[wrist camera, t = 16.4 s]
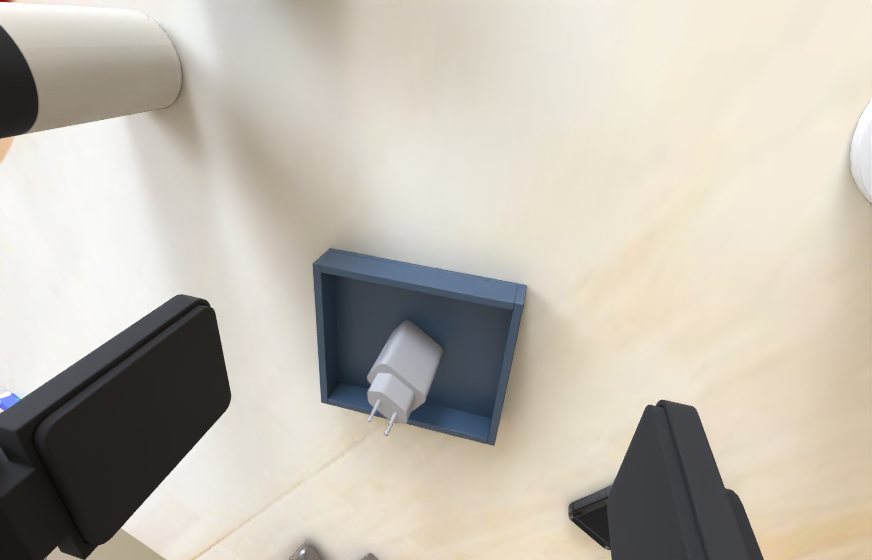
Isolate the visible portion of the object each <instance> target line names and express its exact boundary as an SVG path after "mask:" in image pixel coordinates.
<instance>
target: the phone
mask: <svg viewBox="0 0 872 560" xmlns="http://www.w3.org/2000/svg"><path fill="white" fill-rule="evenodd" d="M611 488H612V486H610V487H608V488H606V489H603V490H601V491H599V492H596V493H594V494H592V495H589V496H587V497H585V498H582V499H580V500H578V501H575V502H573V503H571V504H570V505H569V518H570V520H571V521H573V522H574V523H575V524H576V525H577V526H578V527H580V528H581V529H582V530H583V531H584V532H585V533H587V534H588V535H589V536H590V537H591V538H593V539H594V540H595V541H596V542H597V543H598V544H600V545H601V546H602V547H603V548H605V549H607V550H611V546H610V535H609V524H608V514H607V504H608V497H609V493H610V490H611Z"/></svg>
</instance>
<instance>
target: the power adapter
mask: <svg viewBox="0 0 872 560" xmlns="http://www.w3.org/2000/svg"><path fill="white" fill-rule="evenodd" d="M442 355H443V348H442V347H441V346H440V345H439V344H437V343H436V342H435V341H434V340H433V339H432V338H430V337H429V336H428V335H427V334H426V333H425V332H423V331H422V330H421V329H420V328H419V327H418V326H416V325H415V324H414V323H413V322H411V321H408V320H406V321H403V322H402V323H401V324H400V325H399V326H398V327H397V328H396V329H395V330H394V331H393V332H392V334H391V336H390V337H389V339H388V341H387V343H386V344H385V346H384V348H383V350H382V351H381V353H380V355H379V357H378V358H377V360H376V362H375V363H374V365H373V367H372V369H371V370H370V372H369V374H368V376H367V379H368V381H369V383H370V384H372V385H371V387H370V388H369V390H368V392H367V396H368V402H369V403H370V405H371V406H373V407H374V408H373V410H372V412H371V414H370V416H369V418H368V422H371V420H372V418H373V416H374V414H375V412H376V410H378V411H379V412H380V413H381V414H383V415H384V416H385V417H386V418H388V419H389V420H390V422H389V425H388V428H387V430H386V432H385V435H386V436H387V435H388V433H389V431H390V429H391V427H392V425H393V423H407V421H408V418H409V416H410V413H411V411H414V410H415V409H416V408H418V407H419V406H420V405H422V404H423V403H424V402H425V400H426V397H427V395H428V392H429V389H430V387H431V384H432V381H433V379H434V376H435V374H436V371H437V368H438V366H439V363H440V360H441V358H442Z"/></svg>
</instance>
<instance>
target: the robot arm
mask: <svg viewBox="0 0 872 560" xmlns="http://www.w3.org/2000/svg"><path fill="white" fill-rule="evenodd" d="M850 161H851V171H852V175H853V177H854V180H855V182H856V185H857V187H858V189H859V190H860V191H861V193H862V194H863V195H864V196H865V198H866V199H867V200H868V201H870V202H871V203H872V99H871V101H870V102H869V104H868V106H867V107H866V109H865V111H864V113H863V114H862V116H861V118H860V120H859V122H858V125H857V128H856V130H855V133H854V136H853V139H852V146H851V153H850ZM230 401H231V391H230V386H229V381H228V376H227V371H226V366H225V361H224V356H223V350H222V345H221V340H220V335H219V330H218V325H217V320H216V314H215V311H214V309H213V308H211V307H210V304H209V303H208V301H207V300H204V299H201V298H196V297H192V296H187V295H177V296H175V297H173V298H172V299H170V300H169V301H167V302H166V303H164V304H163V305H161V306H160V307H158V308H157V309H155V310H154V311H152V312H151V313H149V314H148V315H146V316H145V317H143V318H142V319H140V320H139V321H137V322H136V323H134V324H133V325H131V326H130V327H128V328H127V329H125V330H124V331H122V332H121V333H119V334H118V335H116V336H115V337H113V338H112V339H110V340H109V341H107V342H106V343H105V344H103V345H102V346H100V347H99V348H97V349H96V350H94V351H93V352H91V353H90V354H88V355H87V356H85V357H84V358H82V359H81V360H79V361H78V362H76V363H75V364H73V365H72V366H70V367H69V368H67V369H66V370H64V371H63V372H61V373H60V374H58V375H57V376H55V377H54V378H52V379H51V380H49V381H48V382H46V383H45V384H43V385H42V386H40V387H39V388H38V389H36V390H35V391H33V392H32V393H30V394H29V395H27V396H26V397H24V398H23V399H21V400H20V401H18V402H17V403H15V404H14V405H12V406H11V407H9V408H8V409H6V410H5V411H3V412H2V413H0V560H46V559H47V556H48V555H49V554H50V553H51V552H52V551H53V550H54V549H55V548H56V547H57V546H58V547H59V549H60V551H61V552H63V553H66V554H69V555H72V556H75V557H77V558H80V559H83V560H85V559H86V558H87V557H88V556H89V555H90V554H91V553H92V552H93V551H94V549H95V548H96V547H97V546H98V545H101V544H104V543H106V542H107V541H108V540H110V539H111V538H112V537H113V536H114V534H116V532H117V531H118V530H119V529H120V528H121V527H122V526H123V525H124V524H125V522H126V521H127V520H128V519H129V518H130V517H131V516H132V515H133V513H134V512H135V511H136V510H137V509H138V508H139V507H140V506H141V505H142V503H143V502H144V501H145V500H146V499H147V498H148V497H149V496H150V495H151V493H152V492H153V491H154V490H155V489H156V488H157V487H158V486H159V485H160V483H161V482H162V481H163V480H164V479H165V478H166V477H167V476H168V475H169V473H170V472H171V471H172V470H173V469H174V468H175V467H176V466H177V465H178V463H179V462H180V461H181V460H182V459H183V458H184V457H185V456H186V454H187V453H188V452H189V451H190V450H191V449H192V448H193V447H194V446H195V444H196V443H197V442H198V441H199V440H200V439H201V438H202V437H203V436H204V434H205V433H206V432H207V431H208V430H209V429H210V428H211V427H212V426H213V424H214V423H215V422H216V421H217V420H218V419H219V418H220V417H221V416H222V414H223V413H224V412H225V411H226V410H227V408H228V406H229V404H230ZM607 514H608V524H609V535H610V546H611V556H612V560H764V559H763V556H762V554H761V551H760V548H759V546H758V543H757V541H756V538H755V535H754V533H753V530H752V528H751V525H750V522H749V520H748V517H747V515H746V512H745V509H744V507H743V504H742V502H741V501H740V499H739V497H738V495H737V494H736V493H735V492H734V491H733V490H729V489H726V488H725V487H724V484H723V482H722V479H721V476H720V473H719V471H718V468H717V465H716V462H715V459H714V457H713V454H712V451H711V448H710V445H709V443H708V440H707V437H706V434H705V432H704V429H703V426H702V423H701V420H700V418H699V415H698V412H697V410H696V408H694V407H693V406H689V405H684V404H680V403H675V402H671V401H666V400H660V401H659V402H658V403H657V404H656V406H653V405H648V406H646V408H645V410H644V412H643V415H642V417H641V420H640V422H639V424H638V427H637V429H636V431H635V434H634V436H633V438H632V441H631V443H630V446H629V448H628V450H627V453H626V455H625V457H624V460H623V462H622V464H621V467H620V469H619V472H618V474H617V476H616V479H615V481H614V483H613V486H612V488H611V490H610V493H609V497H608V504H607Z"/></svg>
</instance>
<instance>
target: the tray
mask: <svg viewBox="0 0 872 560" xmlns="http://www.w3.org/2000/svg"><path fill="white" fill-rule="evenodd" d="M313 276H314V292H315V308H316V324H317V340H318V356H319V372H320V388H321V402H322V403H325V404H330V405H334V406H338V407H342V408H346V409H350V410H354V411H358V412H362V413H366V414H371V412H372V410H373V408H374V407H373V406H371V405H370V403H369V402H368V396H367V392H368V390H369V388H370V387H371V385H372V384H370V383H369V381H368V379H367V376H368V374H369V372H370V370H371V369H372V367H373V365H374V363H375V362H376V360H377V358H378V357H379V355H380V353H381V351H382V350H383V348H384V346H385V344H386V343H387V341H388V339H389V337H390V336H391V334H392V332H393V331H394V330H395V329H396V328H397V327H398V326H399V325H400V324H401V323H402V322H403V321H406V320H408V321H411V322H413V323H414V324H415V325H416V326H418V327H419V328H420V329H421V330H422V331H423V332H425V333H426V334H427V335H428V336H429V337H430V338H432V339H433V340H434V341H435V342H436V343H437V344H439V345H440V346H441V347H442V348H443V355H442V358H441V360H440V363H439V366H438V368H437V371H436V374H435V376H434V379H433V381H432V384H431V387H430V389H429V392H428V395H427V397H426V400H425V402H424V403H423V404H422V405H420V406H419V407H418V408H416V409H415V410H414V411H411V413H410V416H409V418H408V421H407V423H405V424H409V425H413V426H417V427H421V428H425V429H429V430H433V431H437V432H441V433H445V434H449V435H453V436H457V437H461V438H465V439H469V440H473V441H477V442H481V443H485V444H489V445H493V446H494V445H495V440H496V436H497V431H498V426H499V421H500V417H501V412H502V407H503V402H504V397H505V393H506V388H507V383H508V378H509V373H510V369H511V364H512V359H513V354H514V350H515V345H516V340H517V335H518V330H519V326H520V321H521V316H522V311H523V306H524V300H525V293H526V285H522V284H517V283H512V282H506V281H501V280H496V279H490V278H485V277H480V276H474V275H469V274H464V273H458V272H453V271H448V270H442V269H437V268H432V267H426V266H421V265H416V264H410V263H405V262H400V261H394V260H389V259H384V258H378V257H373V256H368V255H362V254H357V253H352V252H346V251H341V250H336V249H328V250H327V251H326V252H325V253H324V254H323V255H322V256H321V257H320V258H319V259H317V260H316V261H315V262H314V263H313ZM374 416H377V417H381V418H385V419H388V418H386V417H385V416H384V415H383V414H381V413H380V412H379V411H378V410H376V412H375V414H374Z"/></svg>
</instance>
